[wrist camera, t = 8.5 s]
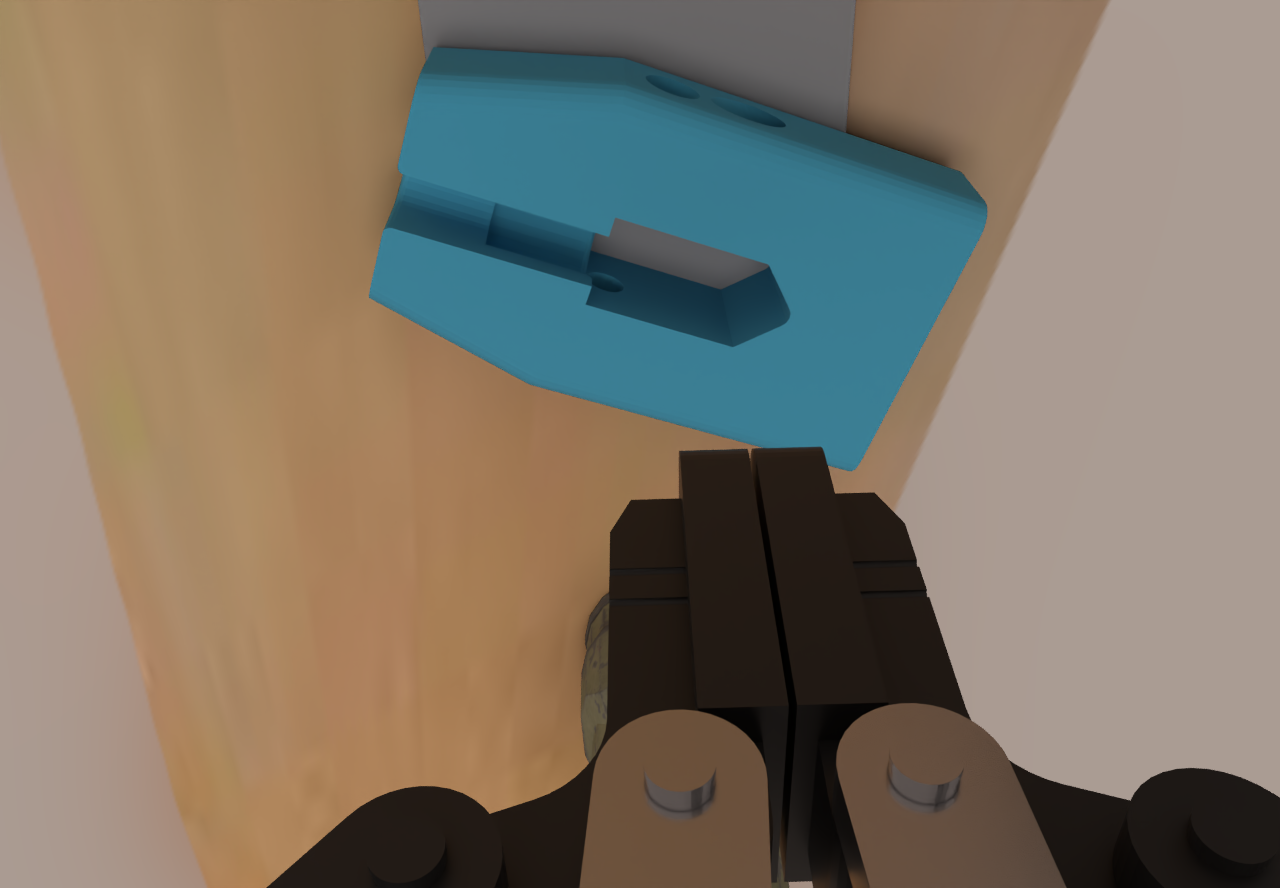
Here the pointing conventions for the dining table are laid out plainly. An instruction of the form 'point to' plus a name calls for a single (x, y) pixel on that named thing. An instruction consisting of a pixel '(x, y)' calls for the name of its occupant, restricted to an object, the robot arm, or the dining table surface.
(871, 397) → the block
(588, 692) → the olive green pouch
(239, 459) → the dining table surface
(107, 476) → the dining table surface
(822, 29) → the mat
